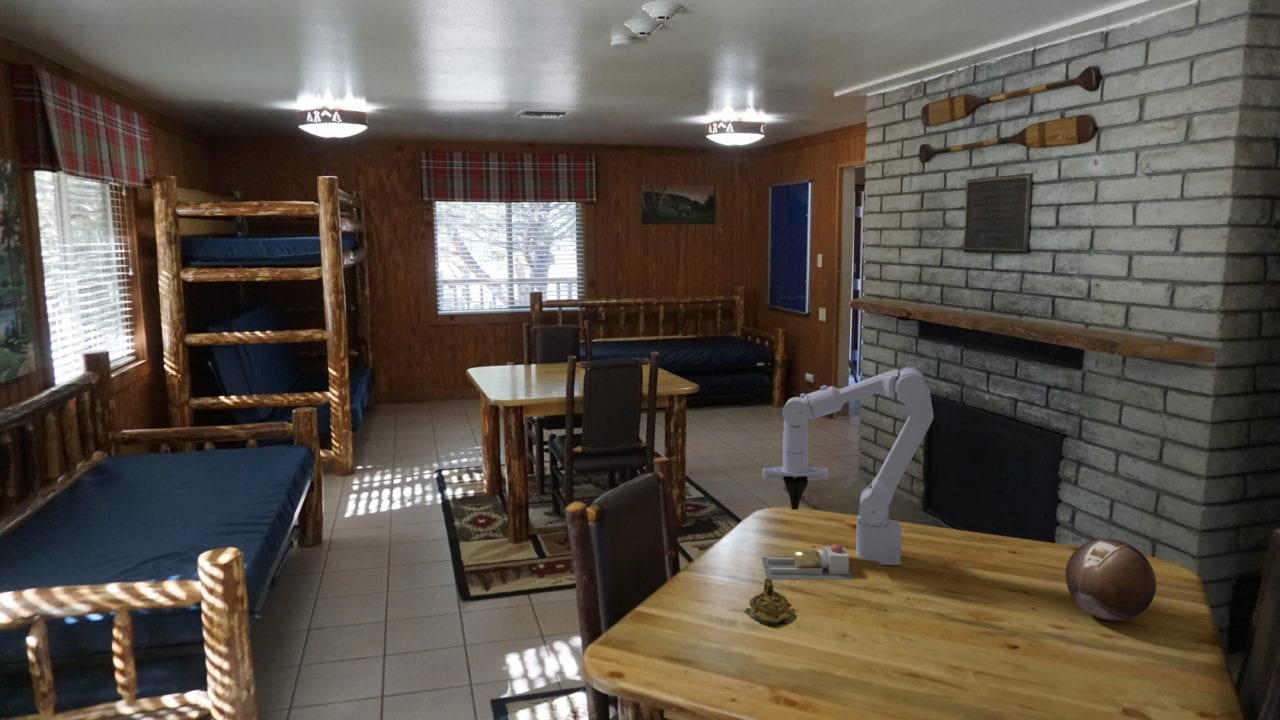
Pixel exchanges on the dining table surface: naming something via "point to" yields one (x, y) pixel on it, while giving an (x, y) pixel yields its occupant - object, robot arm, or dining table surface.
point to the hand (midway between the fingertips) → (794, 508)
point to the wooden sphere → (1110, 579)
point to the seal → (770, 607)
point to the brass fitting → (806, 559)
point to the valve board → (830, 568)
